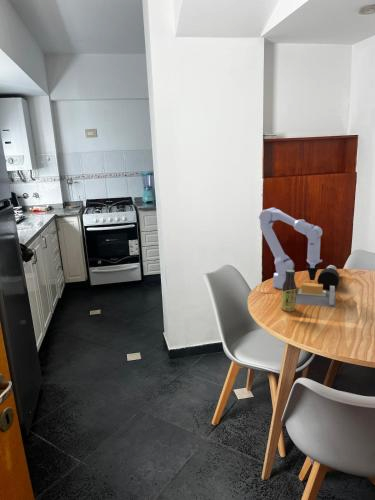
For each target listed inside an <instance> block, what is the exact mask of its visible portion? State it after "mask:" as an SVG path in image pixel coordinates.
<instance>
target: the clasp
mask: <svg viewBox="0 0 375 500" xmlns="http://www.w3.org/2000/svg"><path fill="white" fill-rule="evenodd" d="M335 290H336V289H335V286H330V290H329V291H330V296H329V305H334V295H335V296H336V291H335Z"/></svg>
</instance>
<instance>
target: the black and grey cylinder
mask: <svg viewBox="0 0 375 500" xmlns="http://www.w3.org/2000/svg"><path fill="white" fill-rule="evenodd" d="M317 277H318V278H317V284H323V291H330V286H335V290H336V289H337V288H338V286H339V281H340V274H339V272H338V269H337V267H336V266H335V265H332V264H329V265H328V266H326V268H324V269H322V270H321V271H320V272H319V275H318V276H317Z"/></svg>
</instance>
